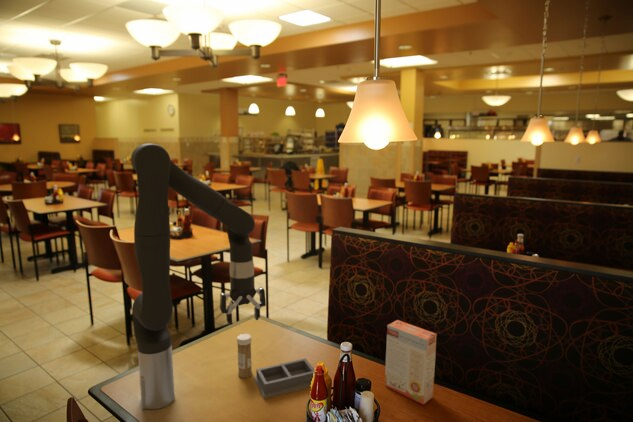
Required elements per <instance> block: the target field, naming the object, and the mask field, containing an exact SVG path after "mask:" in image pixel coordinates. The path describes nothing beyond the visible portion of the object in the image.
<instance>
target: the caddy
mask: <svg viewBox="0 0 633 422" xmlns="http://www.w3.org/2000/svg"><path fill="white" fill-rule="evenodd" d="M314 370H315V369H314V367H313V366H312V365H311V363H310V362H309V361H308V359H307V358H301V359H296V360H291V361H288V362H287V361H286V362H283V363H278V364H275V365H270V366H265V367H261V368H256V372H255V373H256V374H255V376H253V379H254V382H255V384H256V386H257V387H258V390H259V391H260V394H261V395H262V397H263V399H264V400H265V399H268V398H269V399H270V398H274V397H279V396H282V395H284V394H288V393H293V392H297V391H301V390H304V389H309V388H311V387H310V385H311V381H312V378H313V372H314Z"/></svg>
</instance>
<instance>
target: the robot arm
mask: <svg viewBox="0 0 633 422" xmlns="http://www.w3.org/2000/svg"><path fill="white" fill-rule="evenodd" d="M130 162H131V165H132V167H133V169H134V171H135V173H136V174H135V175H136V179H137V181H136V182H137V189H138V201H137V208H136V212H135V219H134V227H133V229H134V230H133V240H134V246H133V247H134V253H135V255H134V256H135V258H136V262H137V263H136V264H137V267H138V270H139V273H140V278H141V283H142V284H141V285H142V286H141V287H142V292H140V293H139V294H138V295H137V297H135V299H134V301H133V304H132V309H131V310H132V311H131V313H132V324H133V325H132V326H133V333H134V334H133V335H134V338H135V341H136V345H137V346H136V347H137V348H136V349H137V357H138V358H137V359H138V372H139V387H140V397H141V398H140V400H141V410H158V409H162V408H165V407H167V406H168V405H170V404H171V403H172V402H173V401H174V399H175V395H176V394H175V392H176V391H175V378H174V362H173V361H174V360H173V346H172V344H173V343H172V335H171V332H170V330H169V327H168V324H169V323H170V322H171V319H172V317H173V312H174V311H173V310H174V308H173V300H172V299H173V298H172V291H171V290H172V289H171V281H170V271H171V225H170V224H171V223H170V207H169V196H168V194H169V189H171V190H173V191H174V192H176V193H177V194H179V195H180V196H181V197H182V198H184V199H185V200H186V201H188V202H189V203H191V204H192V205H193V206H194V207H196V208H198V209H199V210H200V211H202V212H204V213H205V214H206V215H208V216H209V217H211V218H213V219H215V220H218V221H219V222H221V223H222V224H223V225H224V226H226V233H227V238H228V242H229V243H228V244H229V282H230V284H229V285H230V291H229V292H226V293H225V292H221V293H220V294H219V295H220V296H219V298H220V299H219V301H220V302H219V310H220V311H221V314H226V315H225V316H226V322H227V324H228V325H229V326H230V325H232V326H233V313H232V312H233V311H234V309H236V308H237V306H243V305H249V304H252V305H253V306H254V309H253V310H254V311H253V312H254V319H255V320H256V321H258V320H259V318H261V308H264V307H266V305H267V304H266V303H267V301H266V292H265V289H264V288H263V286H259V287H258V288H256V287H255V264H254V247H253V244H252V242H251V240H250V237H249V235H250V234H251V233H253V231H254V229H255V226H256V222H255V219H254V217H253V216H252V215H251V214H250V213H249V212H247V211H246V210H244V209H242V208H241V207H239V206H238V205H236V204H234V203H232V201H230V200H229V199H228V198H226V197H225V196H224V195H222V194H221V193H219V191H217V190H215V189H214V188H212V187H210V186H209V185H208V184H206V183H204V182H202V181H201V180H199V179H198V178H196V177H194V176H192V175H190V174H189V173H188V172H186V171H184V170H183V169H182V168H181V167H179V166H178V165H177V164H176V163H174V162H173V160H171V157H170V154H169V152H168V151H167V149H166V148H164V147H163V146H161V145H160V144H156V143H150V142H149V143H143V144H140V145H138V146H137V147H136V148H135V149H134V150H132V153H131V158H130ZM256 295H257V296H259V302H257V301H256V299H255V298H254V297H255V296H256ZM229 298H230V299H231V300H230V301H229V304H228V305H227V307H226V304H227V303H226V302H227V301H228V300H229Z"/></svg>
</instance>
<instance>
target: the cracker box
mask: <svg viewBox="0 0 633 422" xmlns="http://www.w3.org/2000/svg"><path fill="white" fill-rule="evenodd" d="M386 327H387V329H386V347H385V348H386V350H385V372H384V373H385V374H384V386H385V387H387V388H389V389H390V390H393V391H394V392H396V393H398V394H401V395H403V396H405V397H407V398H408V399H410V400H413V401H415V402H417V403H418V404H421V405H425V404H426V403H428V402H429V401H430V400H431V399H433V397H434V387H435V385H434V384H435V368H436V367H435V366H436V352H437V351H436V349H437V336H438V335H437V333H435V332H433V331H429V330H427V329H424V328H421V327H418V326H416V325H413V324H410V323H407V322H405V321H402V320H400V319H396V320H394V321H393V322H391V323H389V324H387V325H386Z"/></svg>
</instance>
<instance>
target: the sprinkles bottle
mask: <svg viewBox="0 0 633 422" xmlns="http://www.w3.org/2000/svg"><path fill="white" fill-rule="evenodd" d="M236 344H237V366H238V367H237V368H238V374H237V375H238V376H239V377H240V378H244V379H245V378H250V376H252V374H253V371H252V363H253V362H252V346H251V345H252V336H251V334H249V333H241V334H239V335H238V336H237V337H236Z"/></svg>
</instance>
